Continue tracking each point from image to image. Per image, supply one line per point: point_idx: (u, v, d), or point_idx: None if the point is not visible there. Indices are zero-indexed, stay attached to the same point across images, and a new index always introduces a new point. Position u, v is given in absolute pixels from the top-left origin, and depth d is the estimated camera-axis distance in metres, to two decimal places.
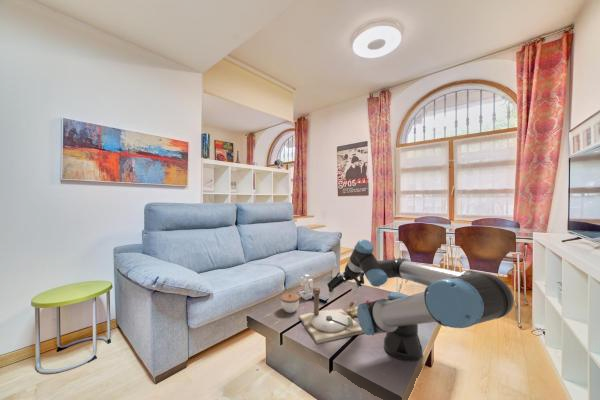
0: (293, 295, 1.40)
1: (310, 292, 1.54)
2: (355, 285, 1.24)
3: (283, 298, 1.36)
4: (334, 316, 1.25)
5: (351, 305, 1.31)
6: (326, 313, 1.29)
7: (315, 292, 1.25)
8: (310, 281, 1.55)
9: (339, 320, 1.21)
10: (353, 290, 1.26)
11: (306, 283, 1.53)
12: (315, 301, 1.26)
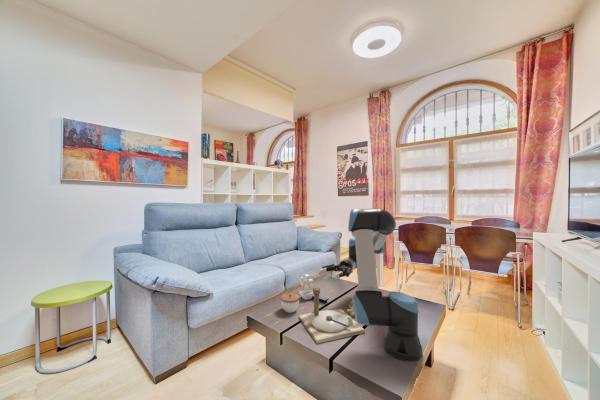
0: (293, 295, 1.40)
1: (310, 292, 1.54)
2: None
3: (283, 298, 1.36)
4: (334, 316, 1.25)
5: (351, 305, 1.32)
6: (326, 313, 1.29)
7: (315, 292, 1.25)
8: (310, 281, 1.55)
9: (339, 320, 1.21)
10: None
11: (306, 283, 1.53)
12: (315, 301, 1.26)
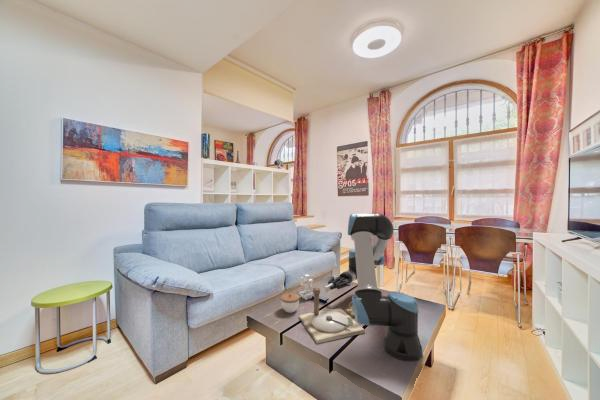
0: (293, 295, 1.40)
1: (310, 292, 1.54)
2: None
3: (283, 298, 1.36)
4: (334, 316, 1.25)
5: (350, 305, 1.31)
6: (326, 313, 1.29)
7: (315, 292, 1.25)
8: (310, 281, 1.55)
9: (339, 320, 1.21)
10: None
11: (306, 283, 1.53)
12: (315, 301, 1.26)
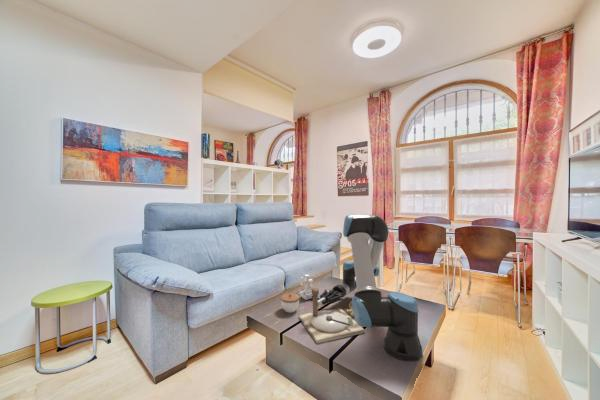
0: (293, 295, 1.40)
1: (310, 292, 1.54)
2: None
3: (283, 298, 1.36)
4: (333, 316, 1.25)
5: (350, 305, 1.31)
6: (324, 313, 1.28)
7: (314, 293, 1.24)
8: (310, 281, 1.55)
9: (339, 319, 1.22)
10: None
11: (306, 283, 1.53)
12: (314, 302, 1.25)
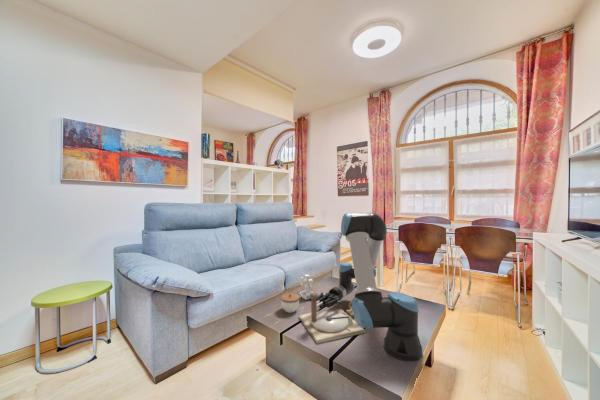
0: (293, 295, 1.40)
1: (310, 292, 1.54)
2: None
3: (283, 298, 1.36)
4: (328, 315, 1.26)
5: (350, 305, 1.31)
6: (317, 315, 1.26)
7: (315, 297, 1.19)
8: (310, 281, 1.55)
9: (336, 316, 1.25)
10: None
11: (306, 283, 1.53)
12: (314, 307, 1.19)
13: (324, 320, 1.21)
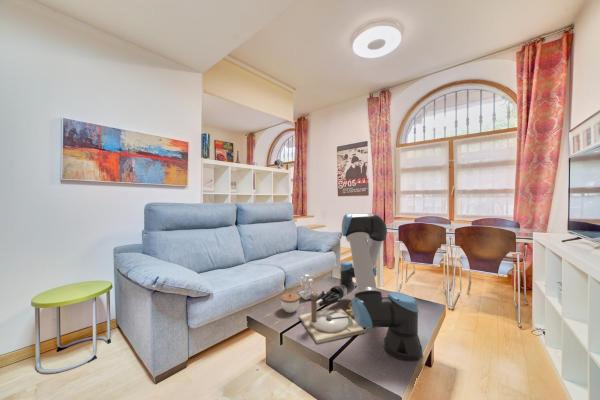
0: (293, 295, 1.40)
1: (310, 292, 1.54)
2: None
3: (283, 298, 1.36)
4: (327, 315, 1.26)
5: (350, 305, 1.31)
6: (317, 316, 1.25)
7: (316, 297, 1.19)
8: (310, 281, 1.55)
9: (336, 316, 1.25)
10: None
11: (306, 283, 1.53)
12: (315, 307, 1.19)
13: (324, 320, 1.21)
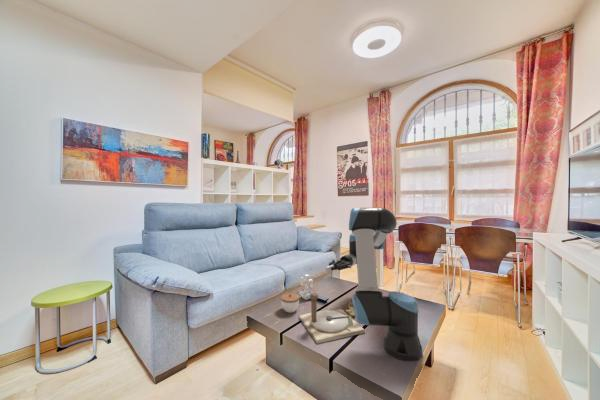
0: (293, 295, 1.40)
1: (310, 292, 1.54)
2: None
3: (283, 298, 1.36)
4: (327, 315, 1.26)
5: (350, 305, 1.31)
6: (317, 316, 1.25)
7: (316, 297, 1.19)
8: (310, 281, 1.55)
9: (336, 316, 1.25)
10: None
11: (306, 283, 1.53)
12: (315, 307, 1.19)
13: (324, 320, 1.21)
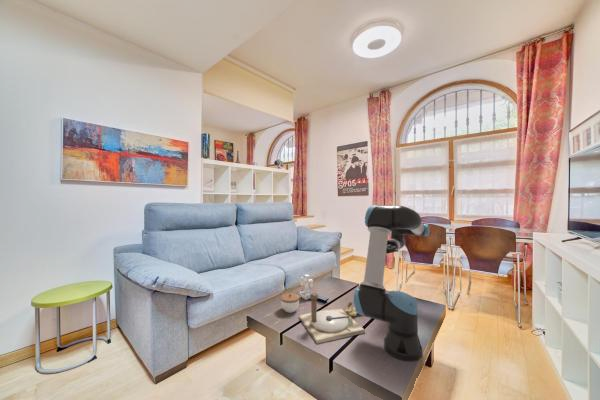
0: (293, 295, 1.40)
1: (310, 292, 1.54)
2: None
3: (283, 298, 1.36)
4: (327, 315, 1.26)
5: (349, 305, 1.31)
6: (317, 316, 1.25)
7: (316, 297, 1.19)
8: (310, 281, 1.55)
9: (336, 316, 1.25)
10: None
11: (306, 283, 1.53)
12: (315, 307, 1.19)
13: (324, 320, 1.21)
